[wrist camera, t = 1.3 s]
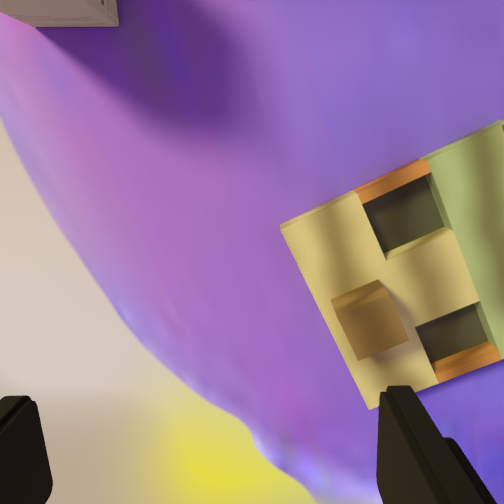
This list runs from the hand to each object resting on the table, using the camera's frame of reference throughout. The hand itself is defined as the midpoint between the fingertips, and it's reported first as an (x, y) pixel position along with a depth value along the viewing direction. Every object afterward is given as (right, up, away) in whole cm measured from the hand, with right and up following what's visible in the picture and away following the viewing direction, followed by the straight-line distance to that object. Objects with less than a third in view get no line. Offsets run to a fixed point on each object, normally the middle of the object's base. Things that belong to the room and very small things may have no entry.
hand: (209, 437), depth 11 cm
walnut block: (+11, 0, +25) cm, 28 cm away
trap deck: (+17, +3, +26) cm, 31 cm away
